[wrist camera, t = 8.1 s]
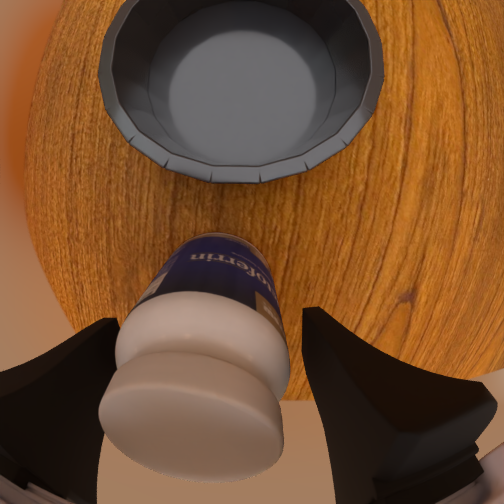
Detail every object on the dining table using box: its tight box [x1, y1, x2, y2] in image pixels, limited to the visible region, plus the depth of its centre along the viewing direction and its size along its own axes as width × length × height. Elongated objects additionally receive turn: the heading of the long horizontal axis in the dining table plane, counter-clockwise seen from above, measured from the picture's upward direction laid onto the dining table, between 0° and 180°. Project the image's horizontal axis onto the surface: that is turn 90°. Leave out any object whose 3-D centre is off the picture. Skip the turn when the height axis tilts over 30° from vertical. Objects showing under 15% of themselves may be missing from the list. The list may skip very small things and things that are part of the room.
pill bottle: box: [99, 232, 290, 483], centre depth 10 cm, size 6×6×10 cm
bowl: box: [98, 0, 384, 184], centre depth 9 cm, size 10×10×4 cm
